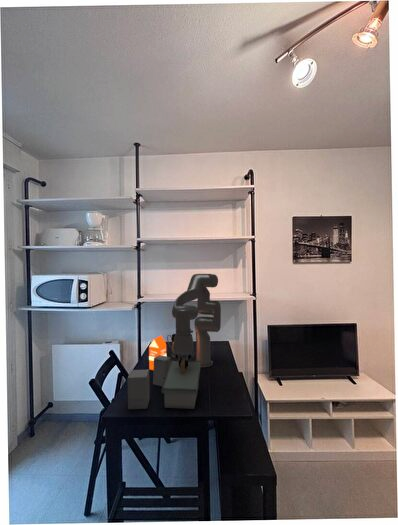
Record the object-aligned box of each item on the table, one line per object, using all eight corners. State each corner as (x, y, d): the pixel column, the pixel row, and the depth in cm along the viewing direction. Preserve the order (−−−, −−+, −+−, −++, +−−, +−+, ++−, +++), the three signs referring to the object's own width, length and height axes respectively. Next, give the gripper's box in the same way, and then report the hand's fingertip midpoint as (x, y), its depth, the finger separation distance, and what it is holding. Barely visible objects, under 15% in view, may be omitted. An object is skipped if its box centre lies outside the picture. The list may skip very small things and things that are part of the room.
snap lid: (171, 364, 140) (170, 352, 138) (200, 365, 138) (200, 353, 137) (161, 392, 118) (160, 379, 116) (196, 394, 116) (195, 380, 115)
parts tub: (173, 386, 138) (173, 372, 138) (198, 387, 137) (198, 372, 137) (164, 407, 119) (164, 390, 119) (194, 408, 117) (193, 391, 117)
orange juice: (149, 369, 162) (148, 338, 162) (157, 364, 170) (156, 334, 170) (159, 371, 158) (158, 339, 158) (166, 366, 166) (166, 335, 166)
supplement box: (150, 398, 126) (149, 368, 126) (147, 409, 118) (146, 377, 118) (132, 399, 126) (131, 369, 126) (127, 409, 117) (127, 377, 117)
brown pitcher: (177, 358, 179) (177, 337, 179) (163, 354, 188) (163, 334, 188) (185, 354, 186) (185, 334, 186) (171, 350, 195) (171, 331, 195)
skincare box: (152, 384, 141) (152, 358, 141) (158, 380, 147) (158, 354, 147) (165, 387, 138) (165, 360, 138) (171, 382, 143) (170, 356, 143)
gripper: (199, 330, 133) (199, 365, 133) (169, 330, 135) (170, 364, 135) (197, 334, 126) (198, 371, 126) (166, 334, 128) (166, 370, 128)
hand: (183, 367), depth 131 cm, fingers closed on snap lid
